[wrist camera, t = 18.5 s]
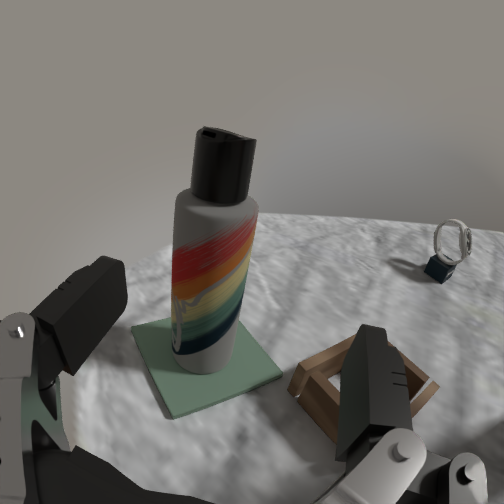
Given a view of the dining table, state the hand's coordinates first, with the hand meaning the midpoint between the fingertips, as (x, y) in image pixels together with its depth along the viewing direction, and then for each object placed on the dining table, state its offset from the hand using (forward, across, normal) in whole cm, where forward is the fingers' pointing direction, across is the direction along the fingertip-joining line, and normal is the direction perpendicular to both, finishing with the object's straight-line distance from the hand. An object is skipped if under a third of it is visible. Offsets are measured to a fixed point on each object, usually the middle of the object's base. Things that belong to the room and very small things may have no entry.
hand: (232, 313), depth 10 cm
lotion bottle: (+11, +4, +16) cm, 20 cm away
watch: (+42, -30, +18) cm, 55 cm away
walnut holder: (+10, -11, +17) cm, 23 cm away
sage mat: (+12, +4, +17) cm, 21 cm away
